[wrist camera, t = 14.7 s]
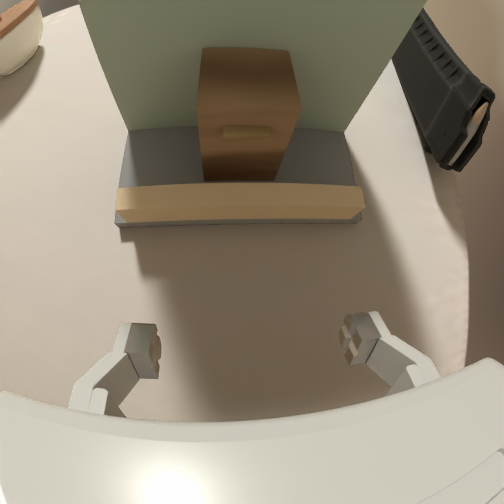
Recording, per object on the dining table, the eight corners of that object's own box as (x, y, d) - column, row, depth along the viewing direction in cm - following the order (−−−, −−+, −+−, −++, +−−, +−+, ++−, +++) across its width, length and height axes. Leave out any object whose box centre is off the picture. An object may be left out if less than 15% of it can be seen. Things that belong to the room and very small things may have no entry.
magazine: (389, -20, 22) (517, 35, 7) (407, -12, 22) (538, 57, 7) (362, 58, 37) (430, 176, 22) (378, 64, 37) (453, 185, 22)
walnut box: (274, 187, 20) (303, 116, 12) (203, 187, 19) (195, 114, 12) (268, 126, 21) (288, 51, 13) (205, 126, 20) (202, 48, 13)
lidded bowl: (66, 27, 24) (49, -22, 14) (23, 81, 22) (-9, 29, 11) (18, 43, 24) (-2, 4, 13) (-22, 95, 21) (-51, 56, 10)
